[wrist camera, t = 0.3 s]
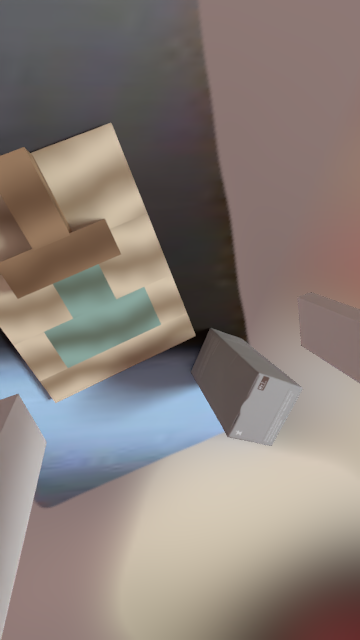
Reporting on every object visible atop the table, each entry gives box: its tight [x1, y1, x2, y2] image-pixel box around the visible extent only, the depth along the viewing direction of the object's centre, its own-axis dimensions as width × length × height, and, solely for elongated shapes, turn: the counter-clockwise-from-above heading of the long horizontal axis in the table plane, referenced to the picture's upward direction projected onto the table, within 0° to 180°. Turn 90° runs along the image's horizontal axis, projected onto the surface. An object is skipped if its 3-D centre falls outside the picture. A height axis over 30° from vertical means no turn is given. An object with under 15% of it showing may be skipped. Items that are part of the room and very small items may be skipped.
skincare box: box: [191, 328, 303, 446], centre depth 38 cm, size 8×7×16 cm
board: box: [0, 123, 196, 403], centre depth 35 cm, size 28×22×1 cm
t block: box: [0, 147, 121, 299], centre depth 30 cm, size 12×12×4 cm
